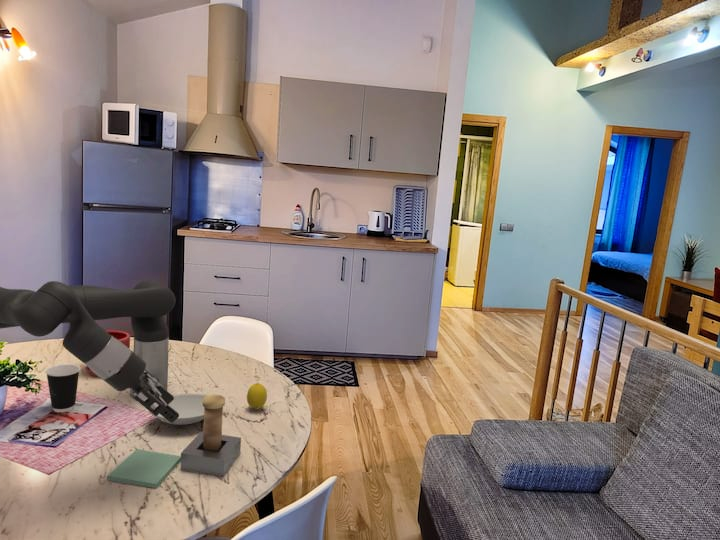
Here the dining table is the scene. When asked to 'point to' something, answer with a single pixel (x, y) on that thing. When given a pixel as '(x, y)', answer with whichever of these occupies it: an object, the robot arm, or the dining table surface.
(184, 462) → the grey square socket block
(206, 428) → the peg
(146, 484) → the mat
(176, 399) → the dish
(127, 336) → the plant pot
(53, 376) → the dixie cup
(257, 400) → the lemon
